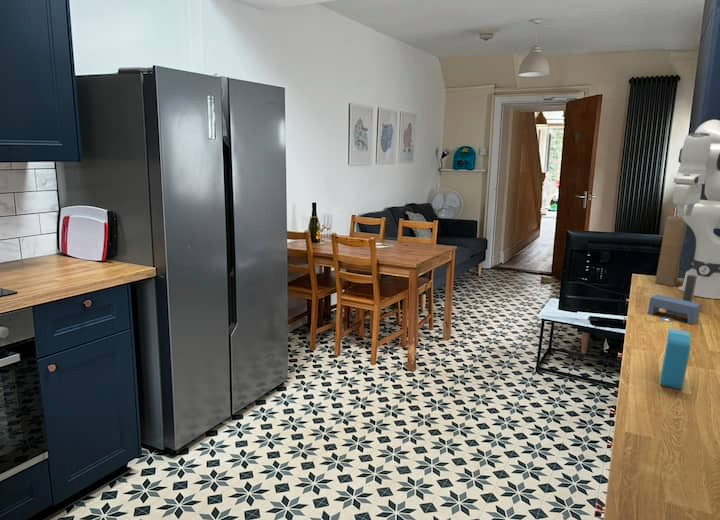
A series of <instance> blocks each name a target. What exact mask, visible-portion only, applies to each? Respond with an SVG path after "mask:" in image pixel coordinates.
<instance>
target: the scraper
mask: <svg viewBox="0 0 720 520" xmlns="http://www.w3.org/2000/svg"><path fill="white" fill-rule="evenodd" d="M696 280H697V276H694V275H688V276H687V281H686V286H685V291H683V296H682V297H683V298H682V300H685V301H690V302H693V300H694V299H693V298H694V296H695V295H694V290H695V285H696ZM665 313H666V314H670V315H674V316H678V315H679V317H682V318H687V319H688V316H689V315H688V314H683V313H679V312H675V311H670V310H666V309H665Z"/></svg>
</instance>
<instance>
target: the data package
mask: <svg viewBox="0 0 720 520" xmlns="http://www.w3.org/2000/svg"><path fill="white" fill-rule="evenodd" d="M691 340H692V339H691V332H690V331H686V330H685V331H684V330H680V329H676V328H669V329H668V334H667V339H666V344H665V345H666V346H665V349H664V355H663V361H662V366H661V372H660V373H661V374H660V375H661V376H660V385H661V386H663V387H667V388H671V389H677V390H683V388H684V383H685V378H686V374H687V368H688V363H689V359H690V353H691V349H692V341H691Z"/></svg>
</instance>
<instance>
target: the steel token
mask: <svg viewBox="0 0 720 520" xmlns="http://www.w3.org/2000/svg"><path fill="white" fill-rule="evenodd" d="M659 320H660V321H661V322H664V321H665V322H666V323H670V322H672V323H674V319H673V318H671V317H667V316H660V317H659Z"/></svg>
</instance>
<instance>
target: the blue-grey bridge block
mask: <svg viewBox="0 0 720 520" xmlns="http://www.w3.org/2000/svg"><path fill="white" fill-rule="evenodd" d="M701 307H702V303H698V302H695V301H692V302H690V301H685V300H683V299H679V298H676V297H670V296H666V295H661V294H655V295H653V296H651V297H650V298H649V305H648V310H647V314H648V315H652V316H653V315H654V314H656V313H658V312H659V311H660V309H662V310H665V311H666V310H670V311H675V312H679V313H683V314H688V315H689V316H688V318H687V323H686V324H688V323H689V325H694V324H695V323H697V322H698V321H699V318H700V313H701Z"/></svg>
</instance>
